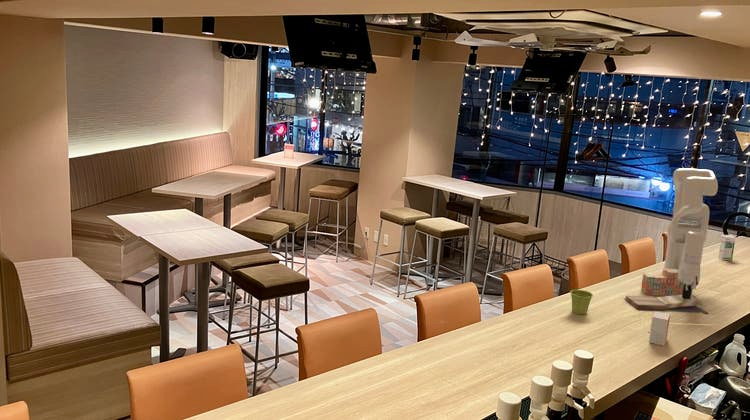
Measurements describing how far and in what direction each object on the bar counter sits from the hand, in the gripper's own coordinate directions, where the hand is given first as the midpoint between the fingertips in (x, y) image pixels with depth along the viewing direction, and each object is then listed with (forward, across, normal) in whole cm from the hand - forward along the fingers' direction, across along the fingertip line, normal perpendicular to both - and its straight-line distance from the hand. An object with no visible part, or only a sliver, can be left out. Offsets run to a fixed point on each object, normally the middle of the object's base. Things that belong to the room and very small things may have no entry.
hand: (686, 298), depth 267 cm
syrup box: (+2, -88, +74) cm, 115 cm away
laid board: (+4, -1, -18) cm, 18 cm away
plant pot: (+5, +10, -52) cm, 53 cm away
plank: (+3, -1, -3) cm, 4 cm away
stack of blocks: (+4, -18, 0) cm, 18 cm away
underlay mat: (+4, -1, -9) cm, 10 cm away
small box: (+6, +39, -32) cm, 51 cm away
